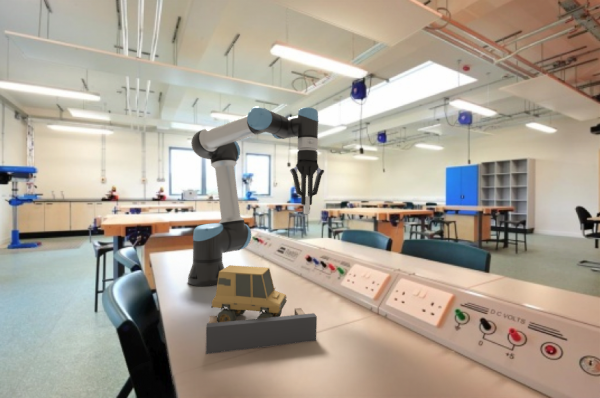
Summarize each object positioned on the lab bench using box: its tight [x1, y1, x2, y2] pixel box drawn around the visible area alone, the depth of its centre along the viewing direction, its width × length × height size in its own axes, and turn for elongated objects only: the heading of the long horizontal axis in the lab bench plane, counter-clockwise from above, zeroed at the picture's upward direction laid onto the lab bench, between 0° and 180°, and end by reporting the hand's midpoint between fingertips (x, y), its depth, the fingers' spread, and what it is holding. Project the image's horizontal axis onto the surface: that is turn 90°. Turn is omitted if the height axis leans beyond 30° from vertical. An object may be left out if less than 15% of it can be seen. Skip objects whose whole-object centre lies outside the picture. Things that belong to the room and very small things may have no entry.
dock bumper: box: [205, 312, 318, 355], centre depth 67 cm, size 2×26×6 cm, turn 105°
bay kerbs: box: [208, 307, 306, 323], centre depth 74 cm, size 12×26×2 cm, turn 105°
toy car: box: [210, 264, 287, 322], centre depth 78 cm, size 10×19×15 cm, turn 81°
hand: (306, 213), depth 104 cm, fingers closed
